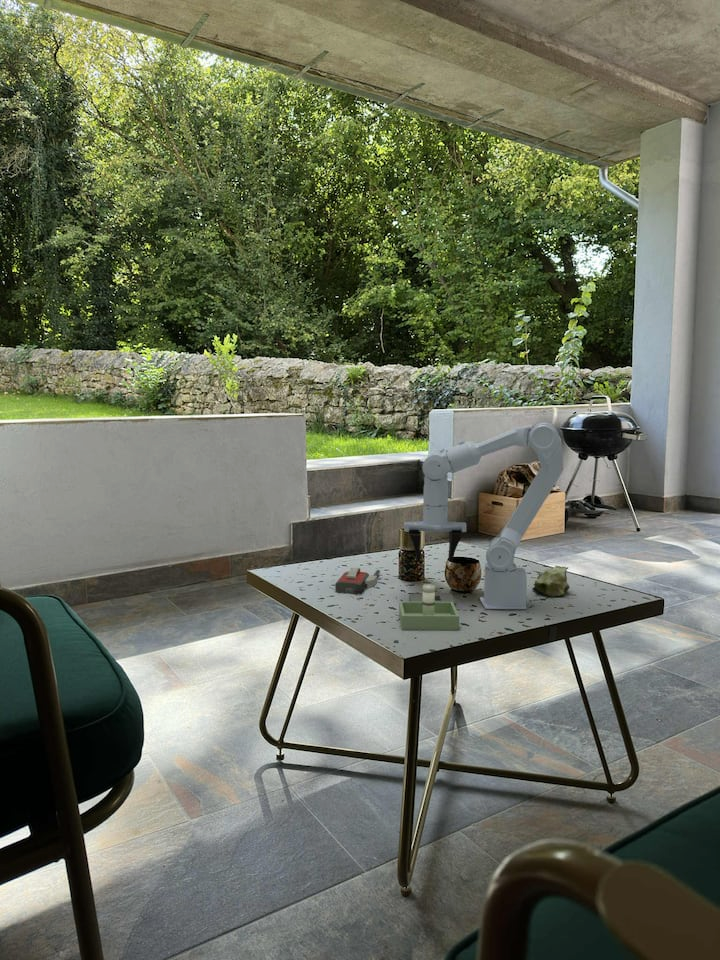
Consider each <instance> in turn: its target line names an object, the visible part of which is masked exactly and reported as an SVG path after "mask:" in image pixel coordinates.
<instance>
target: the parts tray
mask: <svg viewBox="0 0 720 960" xmlns="http://www.w3.org/2000/svg"><path fill="white" fill-rule="evenodd" d="M434 614H435V615H422V602H409V601H398V616H399V620H400V621H399V622H400V627H401V630H402V631H421V630H422V631H459V630H460V615H459V612H458V611H457V608H455V605H454V603H453V602H435V605H434Z"/></svg>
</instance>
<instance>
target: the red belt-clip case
mask: <svg viewBox="0 0 720 960" xmlns="http://www.w3.org/2000/svg"><path fill="white" fill-rule="evenodd" d="M380 572H381V571H380V570H379V569H377V570H376V571H375V572H374V573H373V575H372V574H371V575H370V574H369V573H368V572H365V571H361V568H360V567H359V568H358V567H351V568H350V569H349V570H348V571H346V572H344V573H343V574H342V575H341V576H340V577H339V579H338V580H337V581H336V582H335V593H337V592H339V593H338V594H346V593H348V595H350V594H351V595H361V594H362V593H363V591H364V590H366V589H367V590H368V589H371V588H374V587H375V585H377V583H378V576H379V574H380Z"/></svg>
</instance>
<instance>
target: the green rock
mask: <svg viewBox="0 0 720 960" xmlns="http://www.w3.org/2000/svg"><path fill="white" fill-rule="evenodd" d="M568 570H569V567H566V566H560V565H555V566H554V567H552V568H546V569H545V570H544V571H543V572H542V571H541V572H538V573H536V575H538V576H537V577H536V580H534V587H532V588H531V589H532V590H536V591H538V592H540V593H542V594H544V596H548V597H550V596H558V597H560V596H562V595H563V596H564V595H565V593H566V592H568V590H569V589H570V588H571V587H570V584H569V582H568V578H567V577H568V576H567V571H568ZM564 592H565V593H564Z"/></svg>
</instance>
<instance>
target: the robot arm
mask: <svg viewBox="0 0 720 960" xmlns="http://www.w3.org/2000/svg"><path fill="white" fill-rule="evenodd" d="M528 445H530V447H531V448H532V449H533V451H534V452H535V453H536V455H537V459H538V462H539V464H540V469H539V470H538V471H537V473H536V475H535V477H534V479H533V480H532V481H531V483H530V485H529V486H528V488H527V490H526V491H525V493H524V495H523V496H522V498H521V500H520V501H519V503H518V505H517V507H516V508H515V509H514V511H513V513H512V514H511V516H510V518H509V519H508V522H507V523H506V525H505V526H504V527H503V528H502V529H501V532H500V533H499V534H497V536H495V537H493V538H492V539H491V541H490V542H489V545H488V548H487V550H486V552H485V553H486V554H485V560H486V563H485V564H484V586H483V587H484V588H483V590H484V591H483V596H480V597H479V600H480V603H481V604H482V605H483V607H484V609H486V610H527V587H528V586H527V584H528V582H527V581H528V580H527V578H528V577H527V573H526V570H525V568H524V567H517V564H515V561H514V560H515V554H516V551H517V549H518V547H519V545H520V542H521V541H522V539H523V536H524V535H525V534H526V532H527V530H528V529H529V527H530V526H531V524H532V522H533V521H534V519H535V517H536V515H538V512H539V511H540V510H541V508H542V506H543V504H544V503H545V501H546V500H547V498H548V496H549V495H550V493H551V492H552V489H553V488H554V486H555V485H556V483H557V482H558V481H559V478H560V477H561V475H562V473H563V471H564V459H563V455H564V454H563V445H562V439H561V436H560V434H559V431H558V429H557V428H556V426H555V425H554V424H553V423H552V422H549V421H538V422H536V423H535V424H534V425H533V424H532V423H531V424H526V425H523V426H518V427H515V428H512V429H510V430H508V431H505V432H502V433H501V434H497V435H495V436H492V437H491V438H488V439H486V440H483V441H480V442H479V443H476V442H474V441H471V440H467V441H465V440H464V439H463V440H460V441H459V442H458V444H457V445H455V446H452V447H449V448H447V449H445V448H442V449H439V453H438V452H437V453H433V454H430V455H429V456H428V457H426V458H425V459H424V461H423V464H422V468H421V469H422V473H423V475H424V477H423V478H424V479H423V480H424V481H423V482H424V485H423V503H422V504H423V513H422V520H421V521H407V522H406V521H404V524H403V527H404V528H403V530H404V533H405V532H406V533H408V534H409V537H410V539H411V541H412V544H413V545H412V546H413V547H414V551H415V556H416V562H417V563H421V547H420V546H421V533H420V532H448V535H449V536H448V539H449V541H448V543H449V545H448V547H449V548H448V555H447V556H448V562H449V563H453V562H454V560H453V559H454V556H455V552H456V550H457V547H458V546H459V545H458V544H459V543H460V541H461V540H462V536H463V533H467V523H466V522H459V521H458V522H457V521H448V516H449V515H448V510H449V507H448V504H449V502H448V501H449V485H448V474H449V473H452V474H455V473H457V472H460V471H463V470H465V469H467V468H468V469H469V468H470V467H473V466H476V465H479V463H480V461H481V459H482V457H483V456H487V455H491V454H492V453H493V454H494V453H495V452H498V451H502V450H504V449H507V448H510V447H514V446H517V447H522V448H528Z"/></svg>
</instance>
